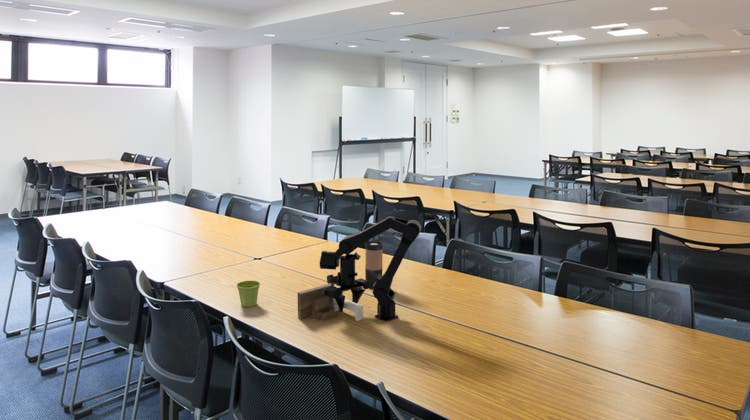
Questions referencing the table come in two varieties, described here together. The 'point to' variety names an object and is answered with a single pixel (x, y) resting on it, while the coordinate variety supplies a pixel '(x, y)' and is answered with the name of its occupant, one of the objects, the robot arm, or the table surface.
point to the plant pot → (248, 292)
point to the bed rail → (351, 308)
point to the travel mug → (373, 261)
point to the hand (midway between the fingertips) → (347, 309)
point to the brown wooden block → (315, 304)
